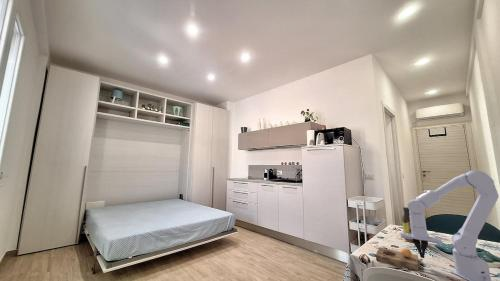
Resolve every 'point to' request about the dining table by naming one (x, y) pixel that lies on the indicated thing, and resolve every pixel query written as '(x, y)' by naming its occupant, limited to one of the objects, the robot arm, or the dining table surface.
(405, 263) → the board
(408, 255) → the ball
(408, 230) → the sauce bottle
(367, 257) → the dining table surface
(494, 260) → the dining table surface
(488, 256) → the dining table surface
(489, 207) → the robot arm
